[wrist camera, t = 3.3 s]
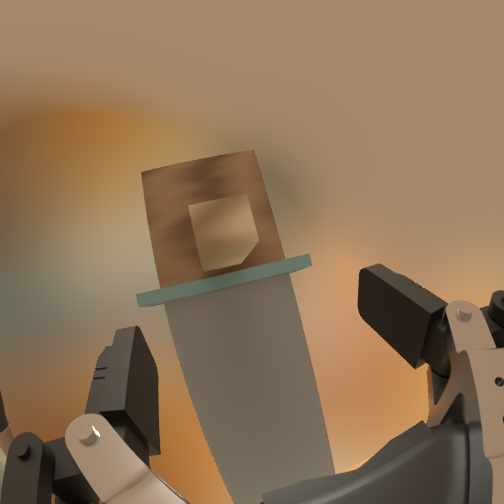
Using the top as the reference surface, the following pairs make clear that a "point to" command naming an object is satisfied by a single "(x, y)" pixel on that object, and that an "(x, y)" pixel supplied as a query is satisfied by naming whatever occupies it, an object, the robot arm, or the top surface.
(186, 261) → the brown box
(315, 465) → the stand
